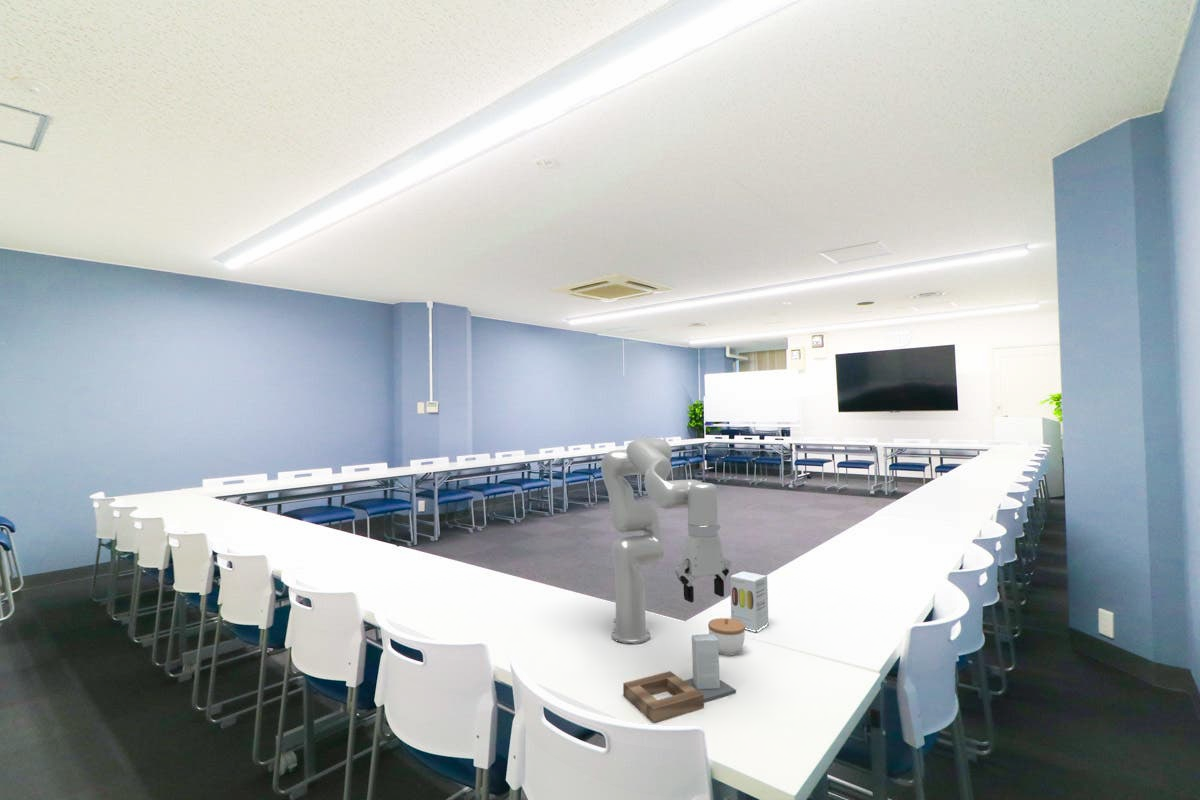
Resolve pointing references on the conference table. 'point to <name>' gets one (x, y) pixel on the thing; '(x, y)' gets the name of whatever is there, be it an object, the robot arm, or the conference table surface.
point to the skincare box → (705, 661)
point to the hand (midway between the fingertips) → (704, 598)
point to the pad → (714, 690)
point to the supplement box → (749, 599)
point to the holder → (665, 708)
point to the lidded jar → (728, 634)
